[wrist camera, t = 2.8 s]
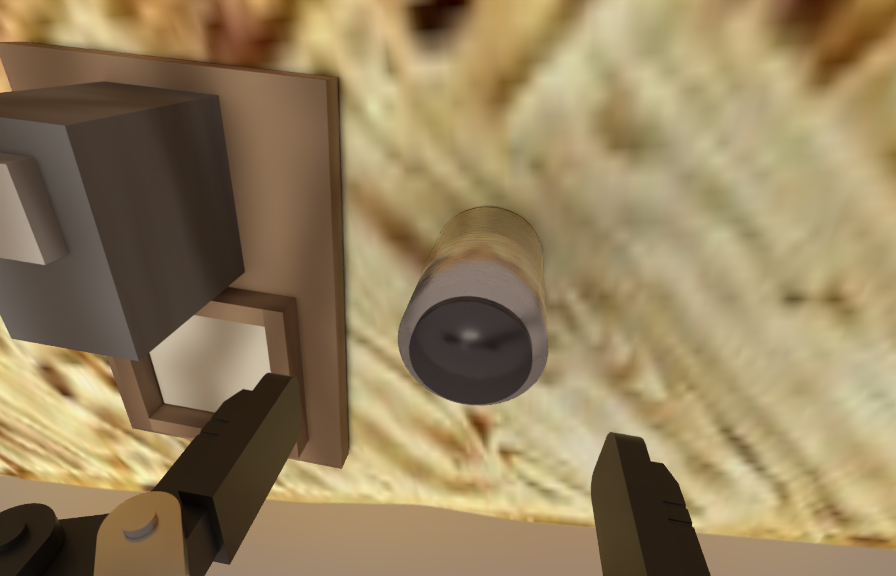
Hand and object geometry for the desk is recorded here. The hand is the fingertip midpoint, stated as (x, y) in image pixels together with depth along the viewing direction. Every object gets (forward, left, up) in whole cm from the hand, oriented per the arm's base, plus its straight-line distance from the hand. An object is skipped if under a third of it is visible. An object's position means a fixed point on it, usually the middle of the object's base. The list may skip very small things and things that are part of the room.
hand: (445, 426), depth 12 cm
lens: (0, 0, -11) cm, 11 cm away
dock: (+14, +4, -11) cm, 18 cm away
